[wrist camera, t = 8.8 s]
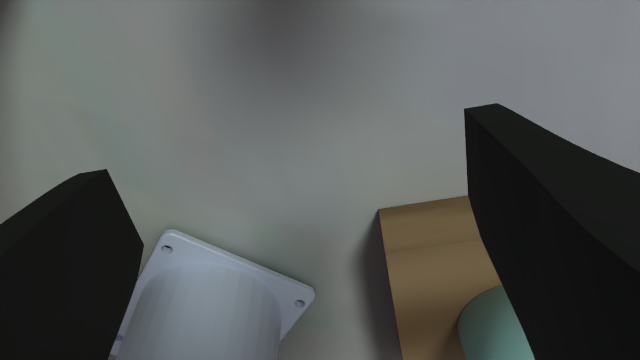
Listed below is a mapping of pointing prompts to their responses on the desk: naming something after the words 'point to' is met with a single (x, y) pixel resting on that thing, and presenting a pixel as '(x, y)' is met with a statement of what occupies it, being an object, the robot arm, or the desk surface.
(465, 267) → the block
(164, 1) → the desk surface
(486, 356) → the teal tapered rounded part
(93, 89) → the desk surface
